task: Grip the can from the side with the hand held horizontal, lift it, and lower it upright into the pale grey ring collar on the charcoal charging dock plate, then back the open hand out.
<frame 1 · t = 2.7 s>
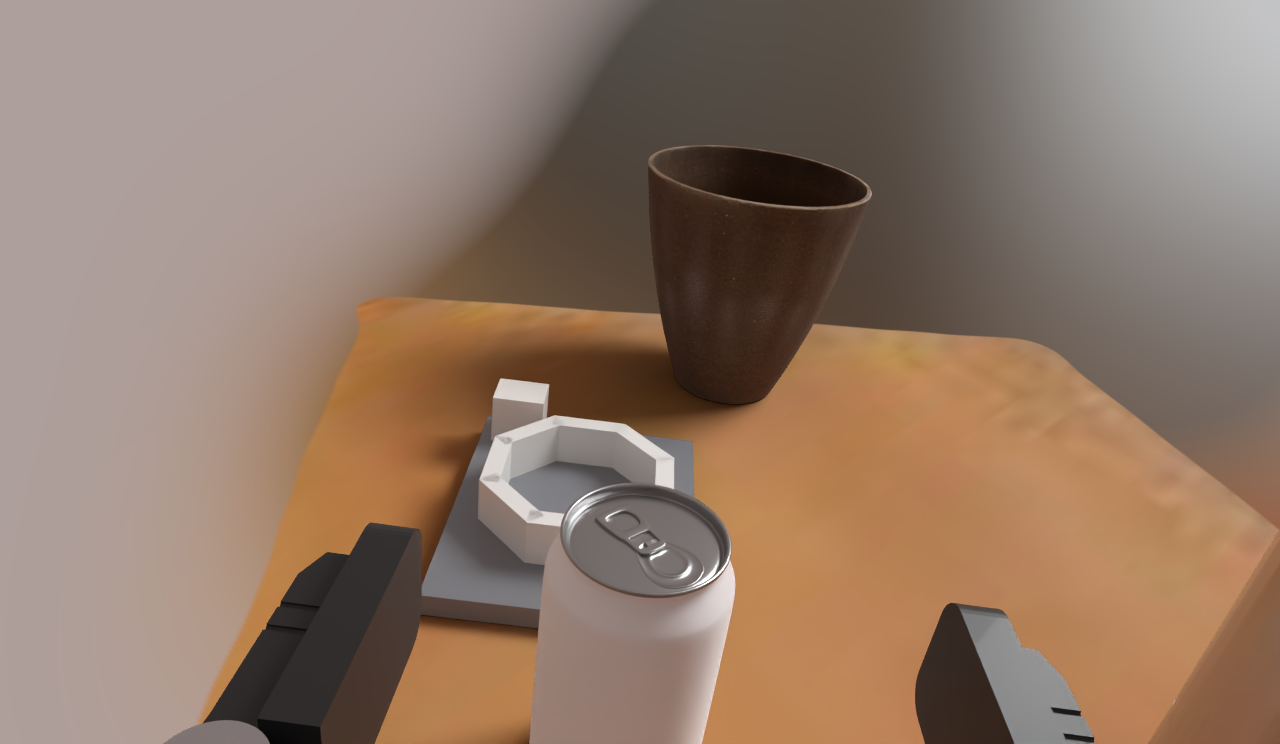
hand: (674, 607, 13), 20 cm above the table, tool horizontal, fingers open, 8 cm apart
charging dock: (575, 523, 46), on the table
plant pot: (719, 382, 63), on the table
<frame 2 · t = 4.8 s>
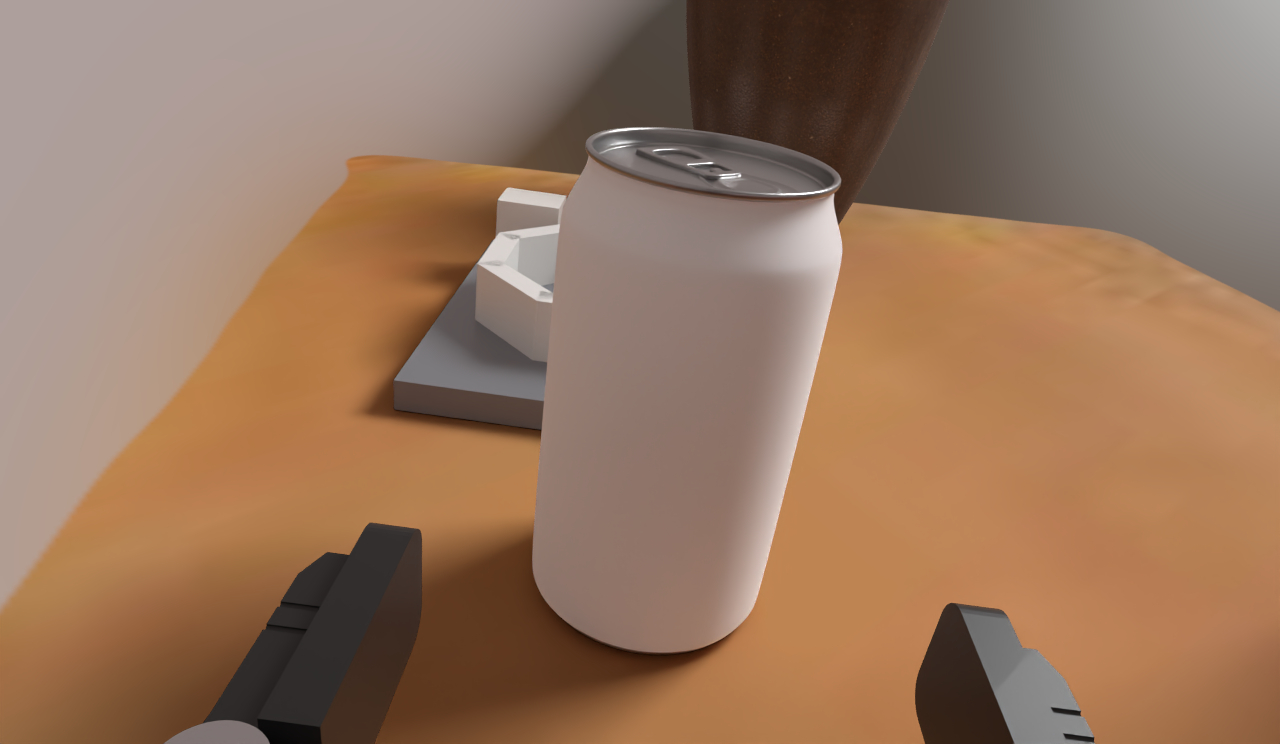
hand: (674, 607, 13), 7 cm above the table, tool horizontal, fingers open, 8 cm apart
charging dock: (596, 341, 37), on the table
can: (643, 582, 24), on the table
plant pot: (763, 241, 54), on the table
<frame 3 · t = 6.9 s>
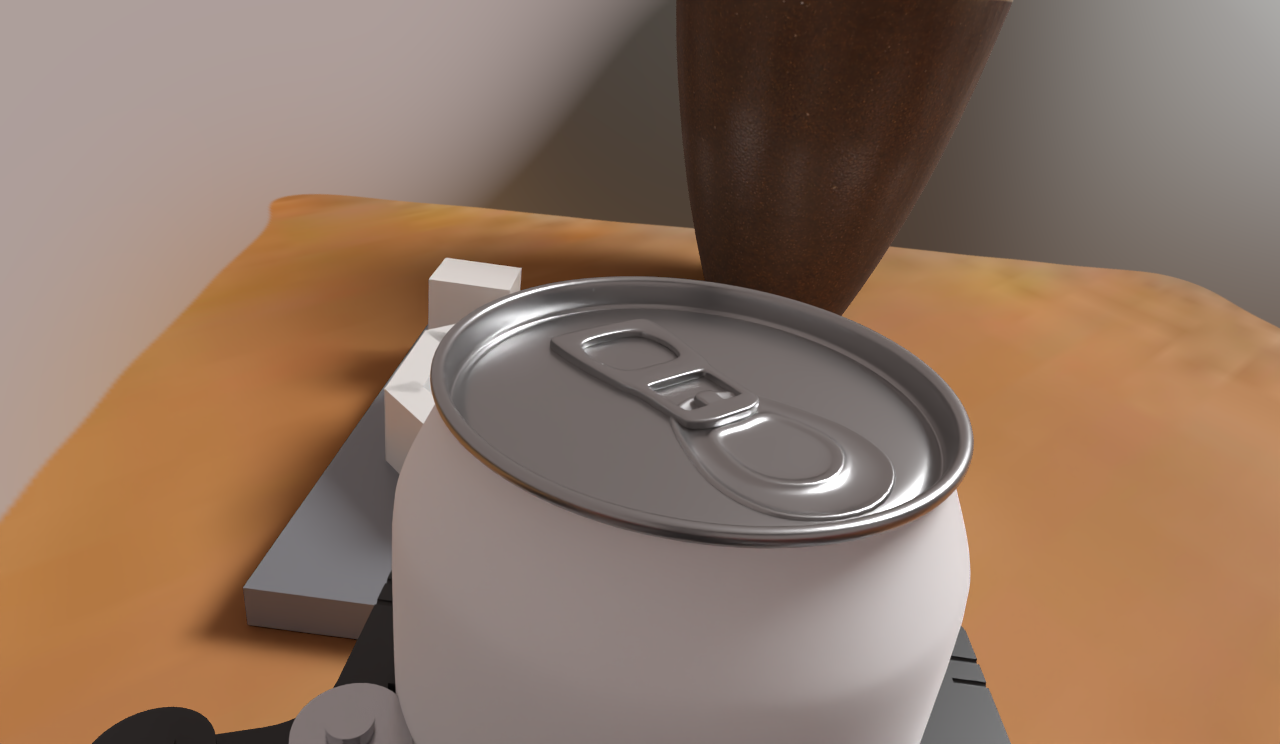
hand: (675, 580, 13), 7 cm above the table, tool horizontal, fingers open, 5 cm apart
charging dock: (555, 476, 27), on the table
plant pot: (770, 303, 45), on the table
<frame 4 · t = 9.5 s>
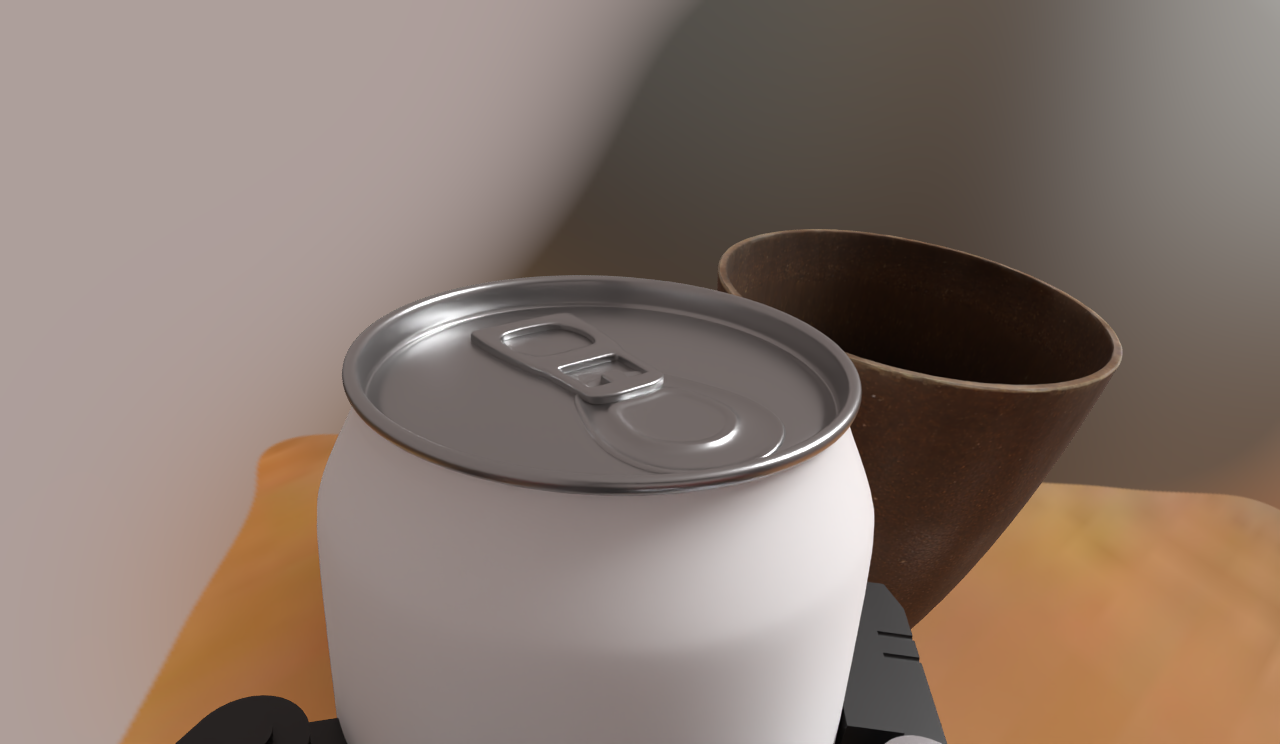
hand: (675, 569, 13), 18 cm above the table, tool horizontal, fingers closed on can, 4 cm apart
plant pot: (817, 605, 39), on the table
when the fingers open (11 cm above the table, at t = 11.7 s): can drops 2 cm, resting on charging dock.
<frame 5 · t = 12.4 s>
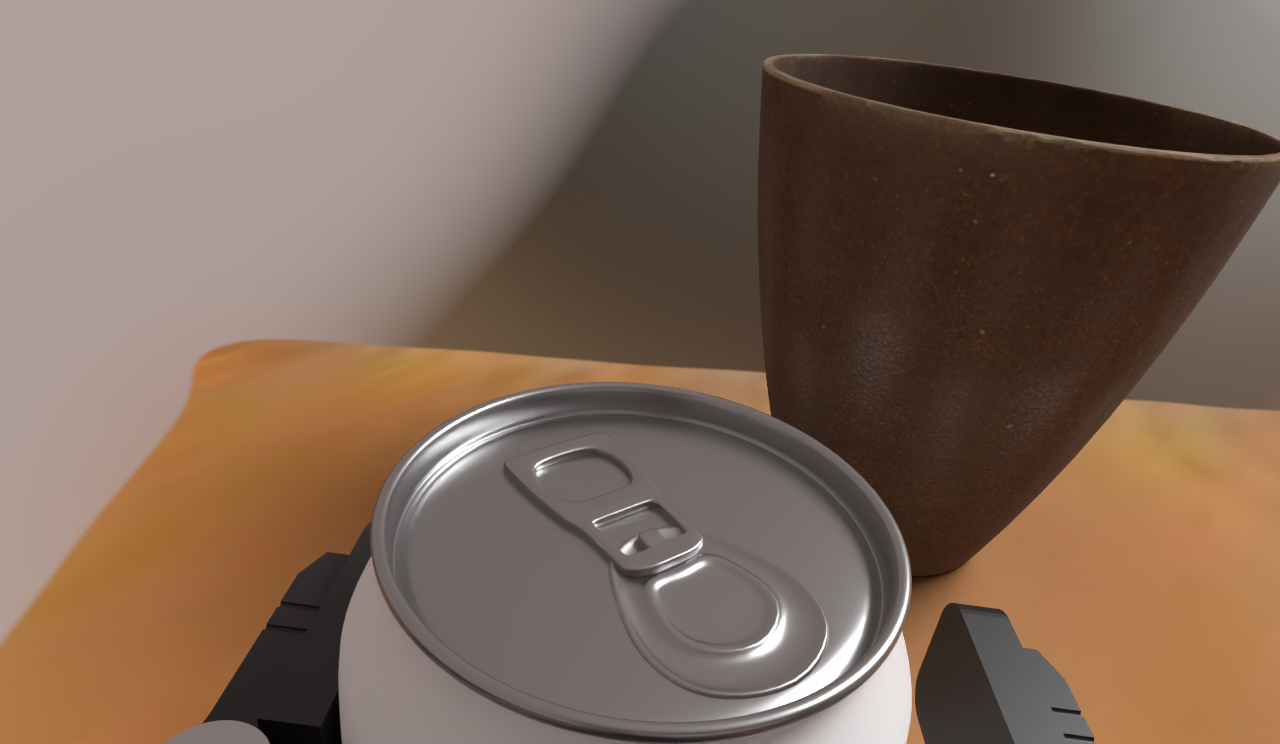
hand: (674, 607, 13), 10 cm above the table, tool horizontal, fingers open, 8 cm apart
plant pot: (873, 518, 32), on the table
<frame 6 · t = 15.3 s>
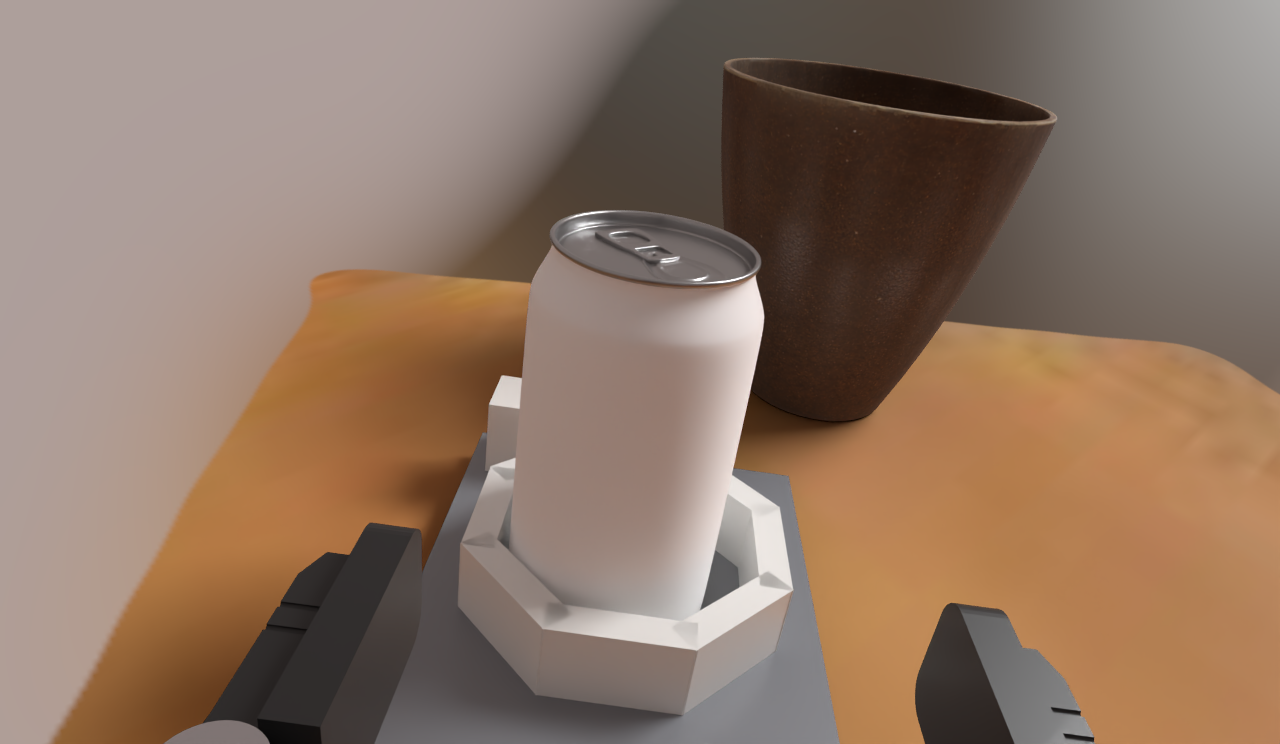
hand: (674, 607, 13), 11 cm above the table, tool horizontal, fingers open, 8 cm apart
charging dock: (617, 610, 28), on the table
can: (604, 593, 27), point 1 cm above the table, touching charging dock
plant pot: (806, 390, 45), on the table
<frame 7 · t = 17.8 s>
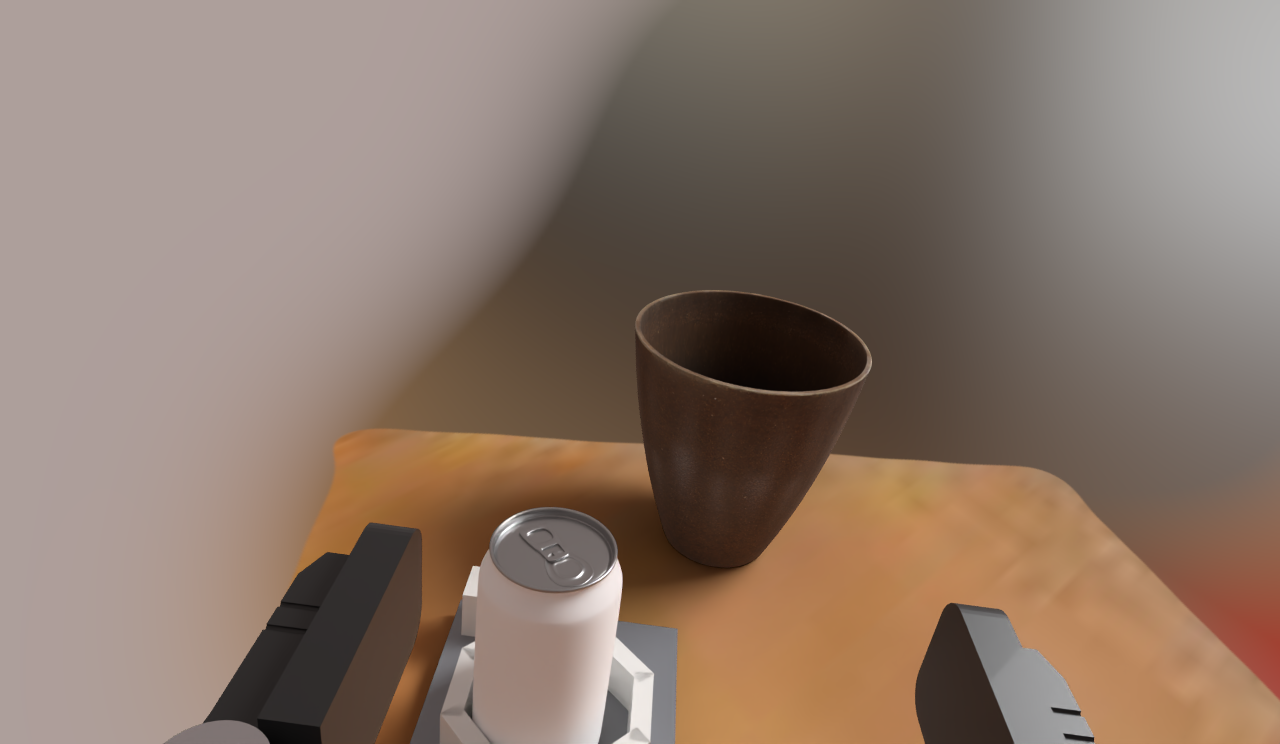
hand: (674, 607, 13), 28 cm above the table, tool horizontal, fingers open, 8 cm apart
charging dock: (546, 743, 42), on the table
can: (536, 734, 42), point 1 cm above the table, touching charging dock
plant pot: (711, 536, 59), on the table
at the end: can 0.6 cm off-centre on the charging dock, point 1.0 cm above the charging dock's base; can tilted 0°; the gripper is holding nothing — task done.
